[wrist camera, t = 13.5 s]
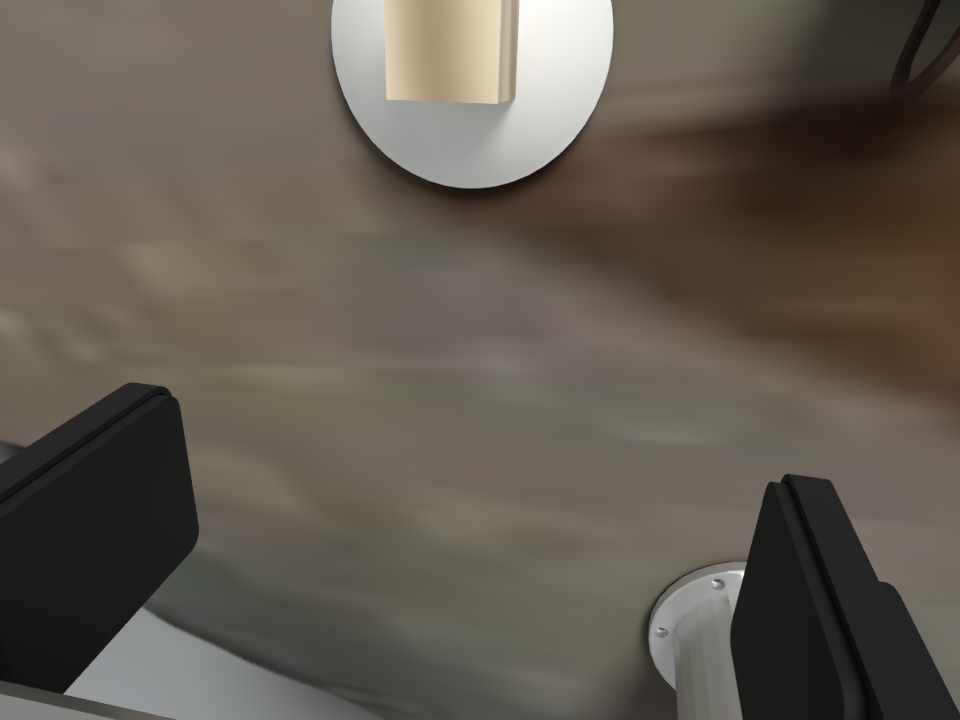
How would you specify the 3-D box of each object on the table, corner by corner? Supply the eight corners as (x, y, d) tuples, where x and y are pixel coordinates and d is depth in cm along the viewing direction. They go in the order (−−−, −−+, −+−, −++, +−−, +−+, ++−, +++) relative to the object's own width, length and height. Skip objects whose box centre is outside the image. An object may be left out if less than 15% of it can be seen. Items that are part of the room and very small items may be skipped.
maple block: (520, -17, 32) (502, -30, 27) (515, 98, 34) (497, 104, 29) (416, -18, 32) (383, -31, 28) (418, 94, 35) (386, 99, 30)
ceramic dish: (631, -125, 30) (631, -131, 29) (596, 194, 36) (595, 198, 35) (334, -125, 32) (323, -132, 31) (345, 174, 38) (337, 178, 37)
